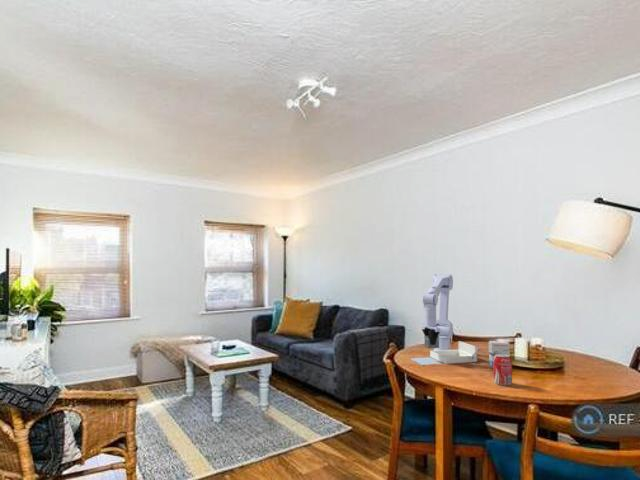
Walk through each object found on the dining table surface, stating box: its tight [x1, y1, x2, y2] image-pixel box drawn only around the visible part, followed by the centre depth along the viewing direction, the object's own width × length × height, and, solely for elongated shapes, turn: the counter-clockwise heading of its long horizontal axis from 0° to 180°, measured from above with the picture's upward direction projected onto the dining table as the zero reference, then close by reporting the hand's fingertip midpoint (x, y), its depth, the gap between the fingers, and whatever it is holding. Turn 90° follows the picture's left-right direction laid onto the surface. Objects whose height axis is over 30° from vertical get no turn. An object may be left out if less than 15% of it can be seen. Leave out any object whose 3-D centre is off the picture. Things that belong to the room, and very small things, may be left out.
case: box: [429, 340, 480, 365], centre depth 205 cm, size 17×18×8 cm
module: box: [423, 334, 439, 349], centre depth 203 cm, size 4×6×6 cm
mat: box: [410, 356, 443, 367], centre depth 202 cm, size 13×11×1 cm
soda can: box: [492, 354, 513, 387], centre depth 166 cm, size 7×7×12 cm
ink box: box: [488, 340, 511, 367], centre depth 194 cm, size 9×5×12 cm, turn 84°
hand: (430, 343), depth 203 cm, fingers closed on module, 4 cm apart
